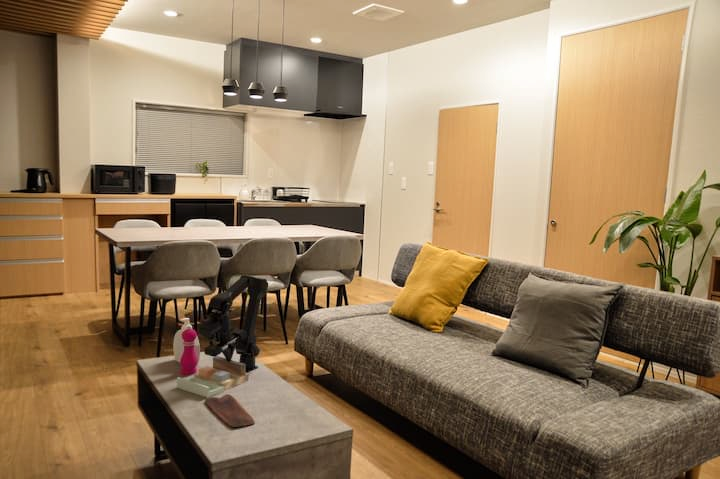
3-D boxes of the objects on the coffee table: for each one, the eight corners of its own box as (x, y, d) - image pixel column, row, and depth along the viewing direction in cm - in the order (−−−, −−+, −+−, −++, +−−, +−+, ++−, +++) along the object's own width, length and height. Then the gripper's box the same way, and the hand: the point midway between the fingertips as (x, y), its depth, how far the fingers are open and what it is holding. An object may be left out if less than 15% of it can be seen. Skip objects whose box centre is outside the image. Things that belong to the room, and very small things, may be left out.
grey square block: (221, 376, 217) (221, 370, 217) (229, 378, 215) (229, 372, 215) (212, 379, 214) (212, 373, 213) (221, 382, 211) (221, 376, 211)
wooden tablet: (257, 419, 183) (228, 422, 178) (256, 426, 183) (228, 429, 178) (230, 392, 205) (203, 394, 200) (229, 398, 205) (203, 400, 200)
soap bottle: (172, 359, 244) (172, 315, 242) (183, 357, 247) (183, 314, 245) (188, 369, 232) (189, 323, 230) (200, 366, 236) (200, 321, 234)
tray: (193, 381, 219) (193, 371, 218) (223, 391, 210) (223, 381, 209) (176, 387, 212) (177, 377, 211) (207, 398, 203) (207, 387, 203)
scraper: (217, 366, 228) (217, 356, 228) (245, 375, 220) (245, 364, 220) (212, 368, 226) (212, 357, 226) (241, 376, 218) (241, 365, 217)
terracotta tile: (207, 372, 222) (207, 366, 221) (215, 374, 219) (215, 368, 219) (198, 375, 218) (198, 369, 218) (206, 377, 215) (206, 371, 215)
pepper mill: (200, 370, 232) (201, 324, 230) (193, 376, 225) (194, 328, 223) (184, 368, 233) (184, 322, 231) (176, 374, 225) (177, 327, 223)
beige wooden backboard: (220, 372, 230) (220, 365, 230) (248, 381, 222) (248, 373, 222) (194, 381, 218) (194, 374, 218) (222, 391, 210) (222, 383, 210)
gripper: (225, 313, 230) (231, 347, 235) (191, 332, 215) (198, 367, 220) (245, 318, 224) (250, 352, 229) (211, 337, 209) (217, 373, 214)
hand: (229, 361), depth 223 cm, fingers closed, pressing on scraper
